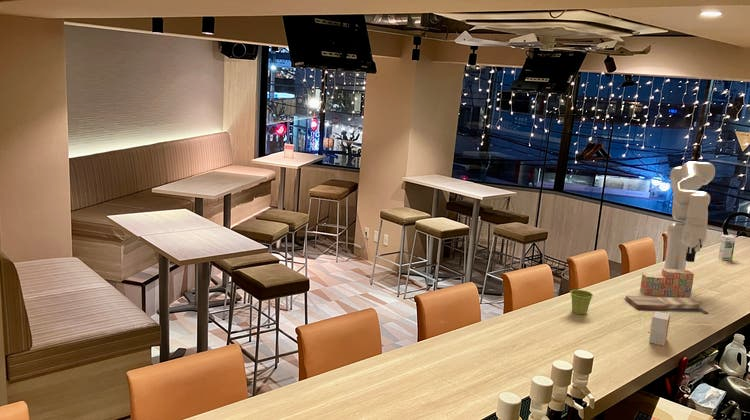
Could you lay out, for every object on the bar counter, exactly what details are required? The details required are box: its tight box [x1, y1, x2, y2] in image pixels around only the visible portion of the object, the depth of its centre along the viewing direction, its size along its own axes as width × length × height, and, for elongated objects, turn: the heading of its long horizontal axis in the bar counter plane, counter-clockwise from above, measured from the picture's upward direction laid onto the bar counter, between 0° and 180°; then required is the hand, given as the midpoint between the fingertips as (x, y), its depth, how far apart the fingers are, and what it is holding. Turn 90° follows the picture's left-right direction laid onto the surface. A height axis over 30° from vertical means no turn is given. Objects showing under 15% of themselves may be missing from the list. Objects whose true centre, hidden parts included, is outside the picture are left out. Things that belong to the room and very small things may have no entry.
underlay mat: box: [623, 297, 709, 315], centre depth 268 cm, size 16×31×1 cm, turn 91°
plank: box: [655, 296, 702, 309], centre depth 268 cm, size 16×9×2 cm, turn 91°
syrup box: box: [718, 234, 736, 261], centre depth 355 cm, size 6×6×14 cm
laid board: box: [624, 295, 667, 310], centre depth 267 cm, size 12×13×2 cm
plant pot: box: [569, 289, 594, 315], centre depth 255 cm, size 9×9×9 cm
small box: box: [648, 311, 671, 347], centre depth 227 cm, size 8×6×10 cm
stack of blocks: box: [639, 268, 695, 298], centre depth 284 cm, size 21×6×12 cm, turn 85°
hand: (689, 261), depth 265 cm, fingers closed
